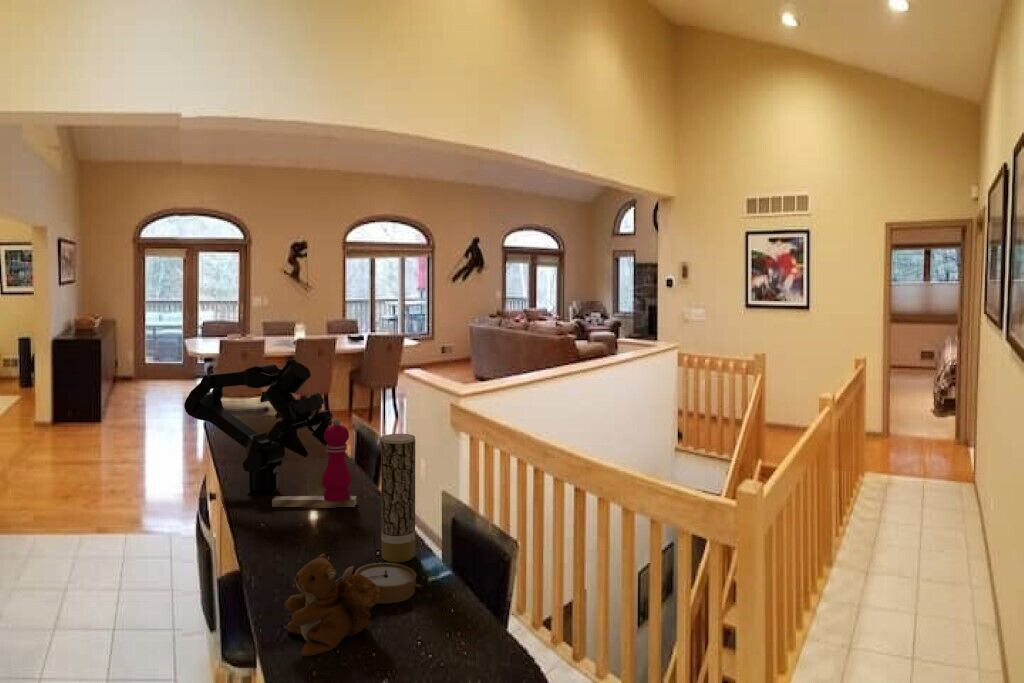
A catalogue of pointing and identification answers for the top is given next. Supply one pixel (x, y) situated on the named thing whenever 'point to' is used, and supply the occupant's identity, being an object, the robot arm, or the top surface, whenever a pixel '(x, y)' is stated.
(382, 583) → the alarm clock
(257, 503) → the top surface
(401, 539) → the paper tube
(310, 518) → the top surface
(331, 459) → the pepper mill
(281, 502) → the flat beige strip
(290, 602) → the stuffed squirrel
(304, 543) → the top surface
